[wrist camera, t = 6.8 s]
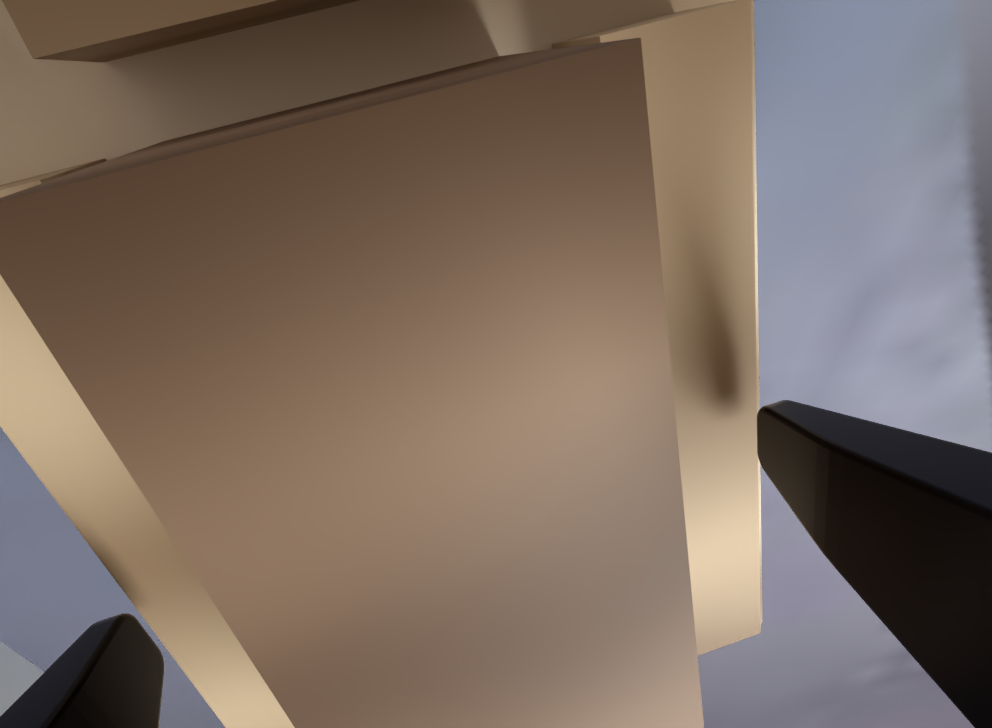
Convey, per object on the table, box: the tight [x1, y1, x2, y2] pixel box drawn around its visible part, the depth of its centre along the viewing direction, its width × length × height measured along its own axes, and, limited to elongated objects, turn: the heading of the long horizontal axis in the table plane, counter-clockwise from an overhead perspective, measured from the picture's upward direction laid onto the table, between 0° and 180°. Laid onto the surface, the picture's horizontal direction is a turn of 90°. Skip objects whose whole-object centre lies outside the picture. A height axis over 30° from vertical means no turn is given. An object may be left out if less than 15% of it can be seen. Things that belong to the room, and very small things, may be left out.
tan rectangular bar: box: [0, 38, 704, 728], centre depth 8 cm, size 11×4×4 cm, turn 13°
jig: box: [0, 0, 762, 728], centre depth 10 cm, size 16×12×3 cm
